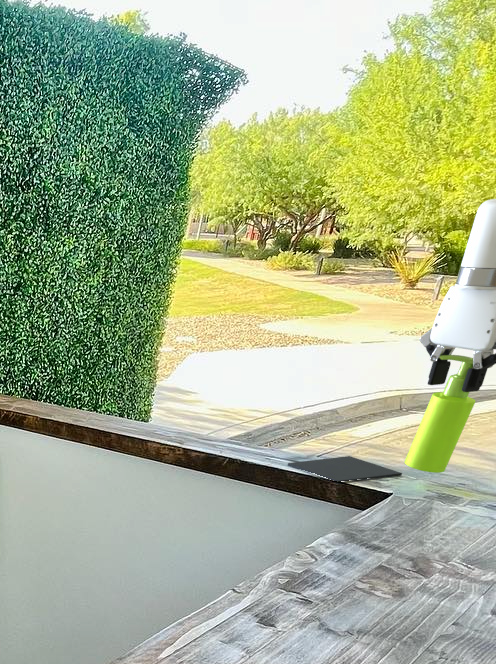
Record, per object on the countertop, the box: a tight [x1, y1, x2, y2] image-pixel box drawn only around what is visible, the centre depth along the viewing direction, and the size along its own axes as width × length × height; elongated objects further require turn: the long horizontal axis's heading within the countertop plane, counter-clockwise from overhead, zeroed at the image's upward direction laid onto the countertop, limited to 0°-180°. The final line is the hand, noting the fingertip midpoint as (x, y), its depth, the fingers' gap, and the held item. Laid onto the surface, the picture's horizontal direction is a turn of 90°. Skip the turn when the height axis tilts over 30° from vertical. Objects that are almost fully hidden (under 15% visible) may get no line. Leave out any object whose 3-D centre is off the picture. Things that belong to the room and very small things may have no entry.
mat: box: [287, 455, 403, 482], centre depth 152 cm, size 16×11×1 cm
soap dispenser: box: [404, 354, 476, 474], centre depth 134 cm, size 6×7×20 cm
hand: (452, 386), depth 132 cm, fingers closed on soap dispenser, 4 cm apart
